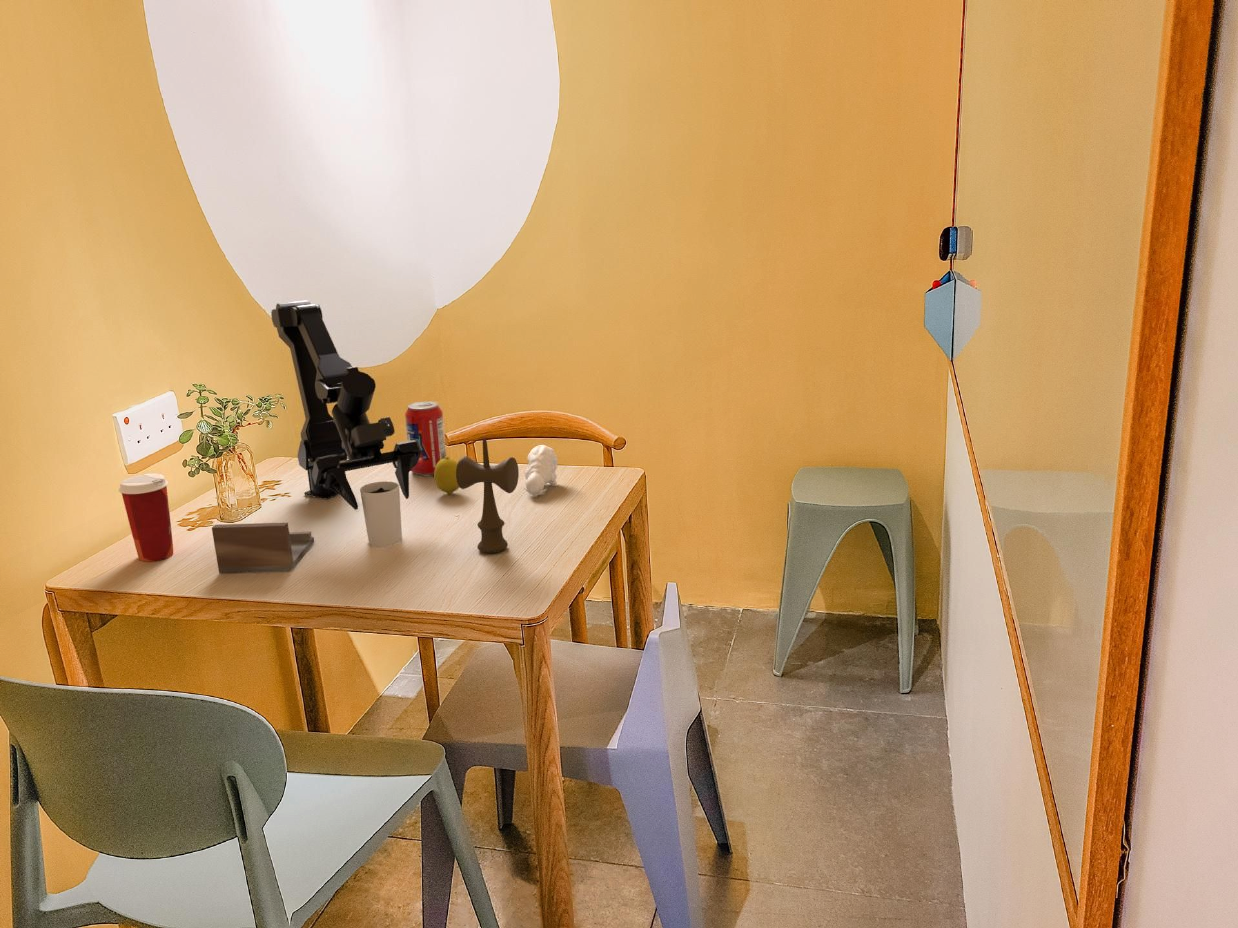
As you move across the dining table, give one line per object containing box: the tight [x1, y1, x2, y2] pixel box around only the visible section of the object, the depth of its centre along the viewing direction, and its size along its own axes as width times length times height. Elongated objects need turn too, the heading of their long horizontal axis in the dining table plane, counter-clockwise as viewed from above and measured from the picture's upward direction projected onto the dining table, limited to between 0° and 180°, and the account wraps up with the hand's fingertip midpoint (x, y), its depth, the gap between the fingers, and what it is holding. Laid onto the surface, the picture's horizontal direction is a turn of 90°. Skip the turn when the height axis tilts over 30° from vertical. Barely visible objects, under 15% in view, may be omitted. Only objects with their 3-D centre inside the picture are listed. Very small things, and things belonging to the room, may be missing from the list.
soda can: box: [404, 401, 447, 477], centre depth 214 cm, size 8×8×15 cm
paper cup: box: [118, 473, 174, 563], centre depth 172 cm, size 8×8×14 cm
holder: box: [211, 522, 315, 574], centre depth 171 cm, size 13×12×8 cm
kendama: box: [456, 437, 520, 554], centre depth 169 cm, size 6×10×20 cm, turn 74°
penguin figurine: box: [523, 444, 559, 498], centre depth 200 cm, size 6×8×12 cm
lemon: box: [433, 455, 459, 496], centre depth 200 cm, size 6×6×8 cm
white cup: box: [359, 481, 403, 548], centre depth 176 cm, size 7×7×10 cm
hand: (382, 503), depth 175 cm, fingers open, 9 cm apart
